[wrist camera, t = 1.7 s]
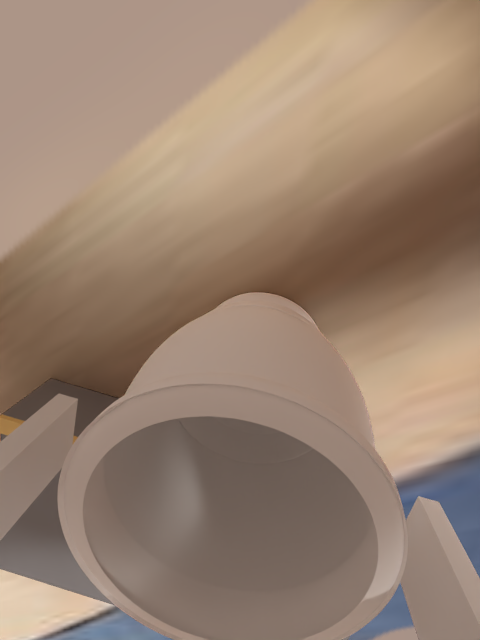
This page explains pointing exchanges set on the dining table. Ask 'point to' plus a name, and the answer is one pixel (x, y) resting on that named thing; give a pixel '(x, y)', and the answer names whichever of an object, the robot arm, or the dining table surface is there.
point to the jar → (238, 486)
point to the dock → (49, 502)
